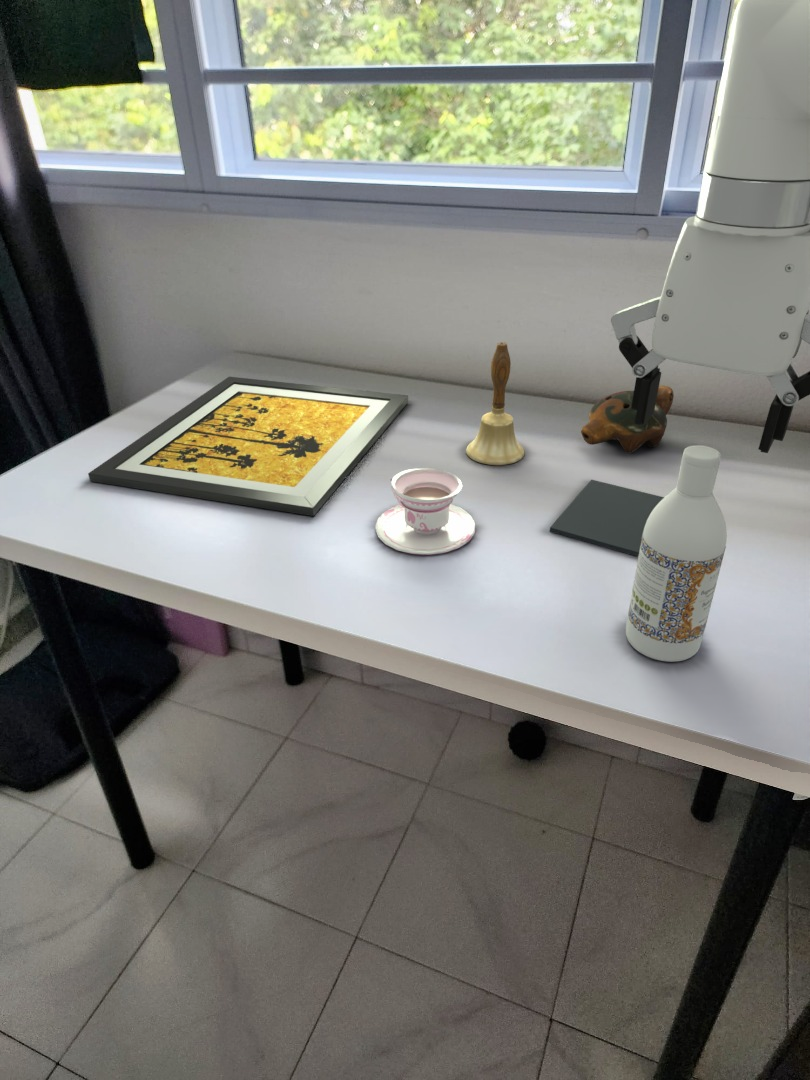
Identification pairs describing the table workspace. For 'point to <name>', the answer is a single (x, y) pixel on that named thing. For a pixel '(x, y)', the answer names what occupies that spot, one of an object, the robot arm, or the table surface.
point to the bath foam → (679, 563)
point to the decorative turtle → (627, 420)
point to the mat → (607, 516)
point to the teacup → (425, 513)
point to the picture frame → (257, 444)
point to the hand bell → (497, 420)
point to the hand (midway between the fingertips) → (702, 432)
